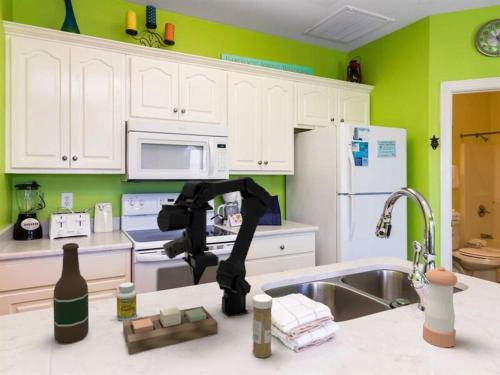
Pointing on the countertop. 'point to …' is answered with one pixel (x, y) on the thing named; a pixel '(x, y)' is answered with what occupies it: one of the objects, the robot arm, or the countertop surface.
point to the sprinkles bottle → (262, 325)
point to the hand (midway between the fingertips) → (195, 284)
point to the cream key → (170, 316)
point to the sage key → (195, 315)
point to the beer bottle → (70, 300)
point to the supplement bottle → (126, 302)
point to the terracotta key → (142, 326)
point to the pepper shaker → (440, 308)
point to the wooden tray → (168, 332)
